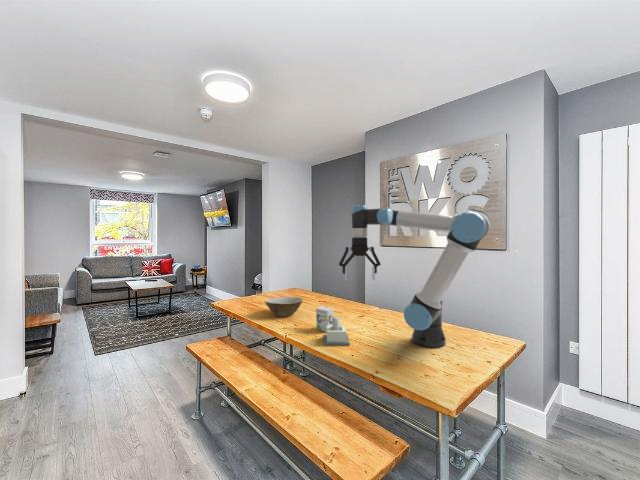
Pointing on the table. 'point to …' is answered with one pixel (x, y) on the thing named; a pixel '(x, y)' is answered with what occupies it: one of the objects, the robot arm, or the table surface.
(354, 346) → the table surface
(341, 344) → the post
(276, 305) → the bowl
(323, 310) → the ink box
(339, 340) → the collar
